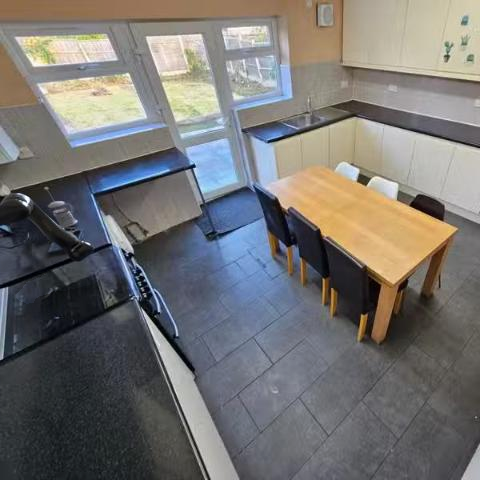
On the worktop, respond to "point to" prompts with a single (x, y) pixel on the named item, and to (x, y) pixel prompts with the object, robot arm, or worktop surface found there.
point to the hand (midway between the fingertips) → (56, 229)
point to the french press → (65, 221)
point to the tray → (54, 246)
